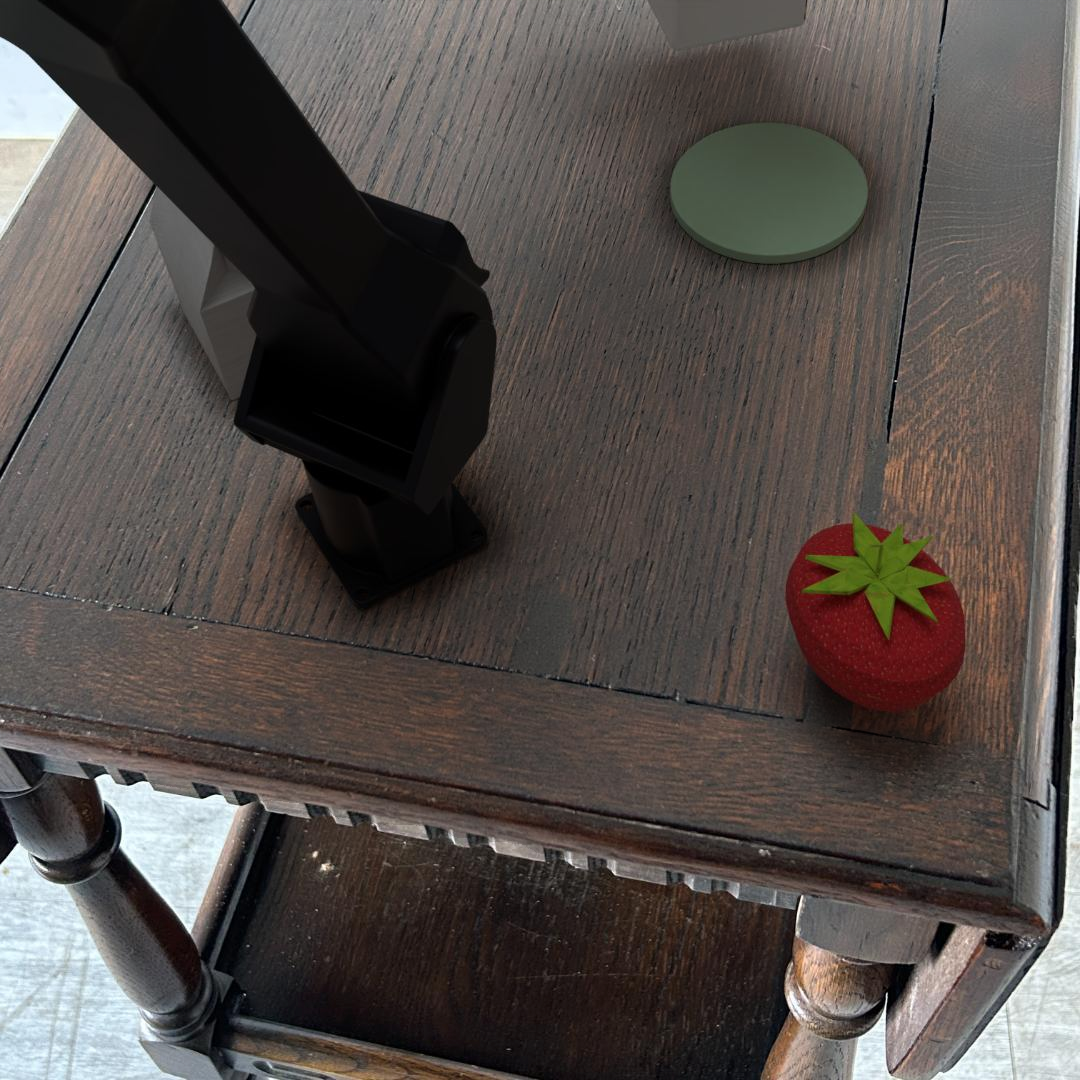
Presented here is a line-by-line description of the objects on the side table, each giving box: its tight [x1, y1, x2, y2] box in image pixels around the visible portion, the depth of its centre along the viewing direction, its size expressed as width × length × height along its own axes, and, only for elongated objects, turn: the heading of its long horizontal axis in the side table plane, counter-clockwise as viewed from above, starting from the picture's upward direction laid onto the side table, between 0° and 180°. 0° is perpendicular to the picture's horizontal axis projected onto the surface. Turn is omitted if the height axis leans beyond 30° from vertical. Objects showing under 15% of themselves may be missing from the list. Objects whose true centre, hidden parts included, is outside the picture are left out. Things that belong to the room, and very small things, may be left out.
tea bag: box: [148, 185, 256, 401], centre depth 64 cm, size 4×7×10 cm, turn 28°
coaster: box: [669, 122, 869, 265], centre depth 72 cm, size 10×10×1 cm
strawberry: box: [785, 511, 966, 713], centre depth 52 cm, size 6×8×10 cm
